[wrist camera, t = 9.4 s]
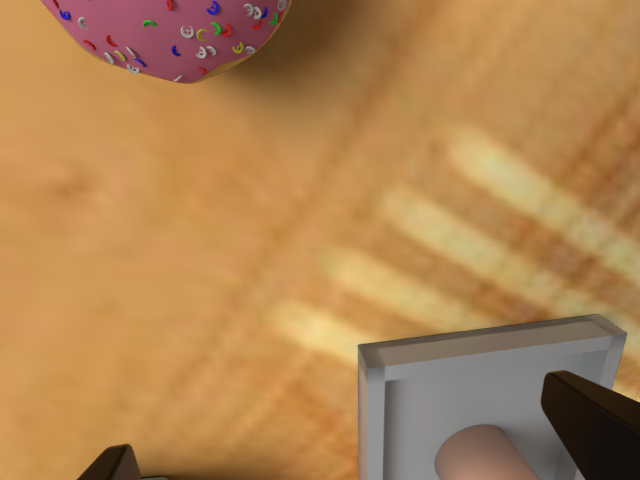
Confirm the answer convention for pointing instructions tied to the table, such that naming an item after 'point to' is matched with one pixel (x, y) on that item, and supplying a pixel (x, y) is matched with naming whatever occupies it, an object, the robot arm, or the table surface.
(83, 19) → the cupcake
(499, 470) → the cup
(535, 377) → the tray
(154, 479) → the flower pot
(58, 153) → the table surface
